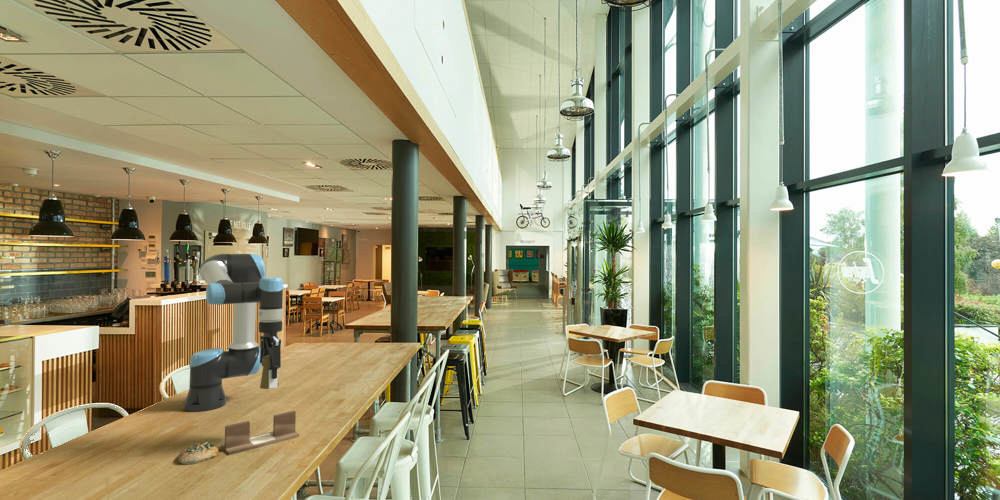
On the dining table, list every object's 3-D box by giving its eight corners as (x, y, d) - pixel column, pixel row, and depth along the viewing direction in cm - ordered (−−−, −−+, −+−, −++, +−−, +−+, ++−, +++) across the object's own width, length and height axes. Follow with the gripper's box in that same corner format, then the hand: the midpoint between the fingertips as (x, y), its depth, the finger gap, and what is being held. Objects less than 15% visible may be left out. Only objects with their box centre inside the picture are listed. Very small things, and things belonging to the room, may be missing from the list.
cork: (282, 385, 163) (283, 354, 163) (269, 389, 157) (270, 357, 157) (269, 383, 165) (270, 353, 165) (255, 388, 159) (256, 356, 159)
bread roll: (193, 448, 149) (195, 434, 149) (226, 454, 148) (228, 439, 148) (167, 465, 138) (169, 449, 138) (202, 471, 137) (204, 455, 137)
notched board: (221, 446, 151) (222, 423, 151) (289, 429, 166) (290, 408, 166) (228, 455, 144) (229, 430, 145) (299, 436, 160) (299, 414, 160)
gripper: (250, 319, 165) (249, 382, 165) (269, 324, 152) (267, 393, 152) (272, 317, 171) (271, 379, 170) (292, 322, 158) (290, 388, 157)
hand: (269, 385), depth 161 cm, fingers closed on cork, 6 cm apart
